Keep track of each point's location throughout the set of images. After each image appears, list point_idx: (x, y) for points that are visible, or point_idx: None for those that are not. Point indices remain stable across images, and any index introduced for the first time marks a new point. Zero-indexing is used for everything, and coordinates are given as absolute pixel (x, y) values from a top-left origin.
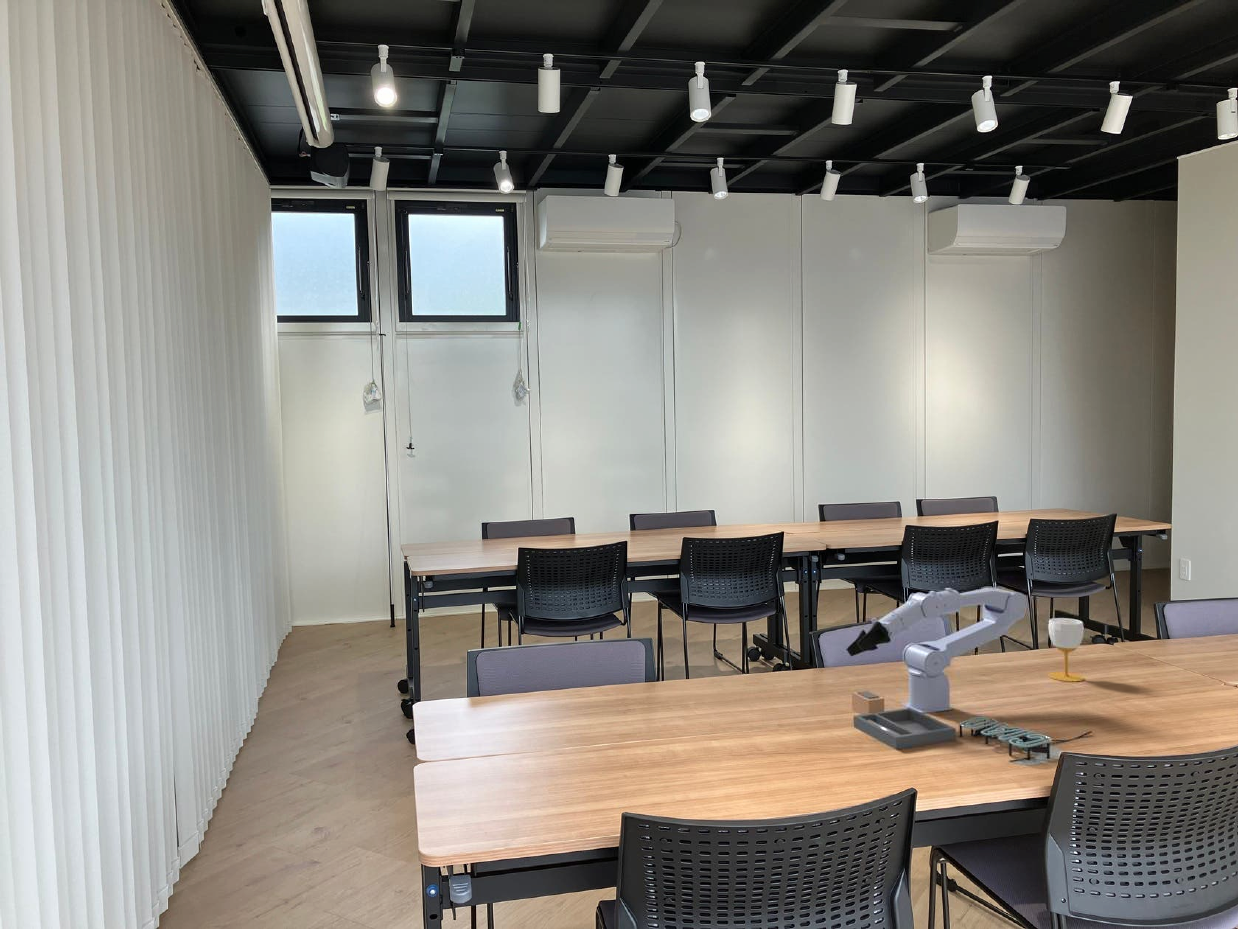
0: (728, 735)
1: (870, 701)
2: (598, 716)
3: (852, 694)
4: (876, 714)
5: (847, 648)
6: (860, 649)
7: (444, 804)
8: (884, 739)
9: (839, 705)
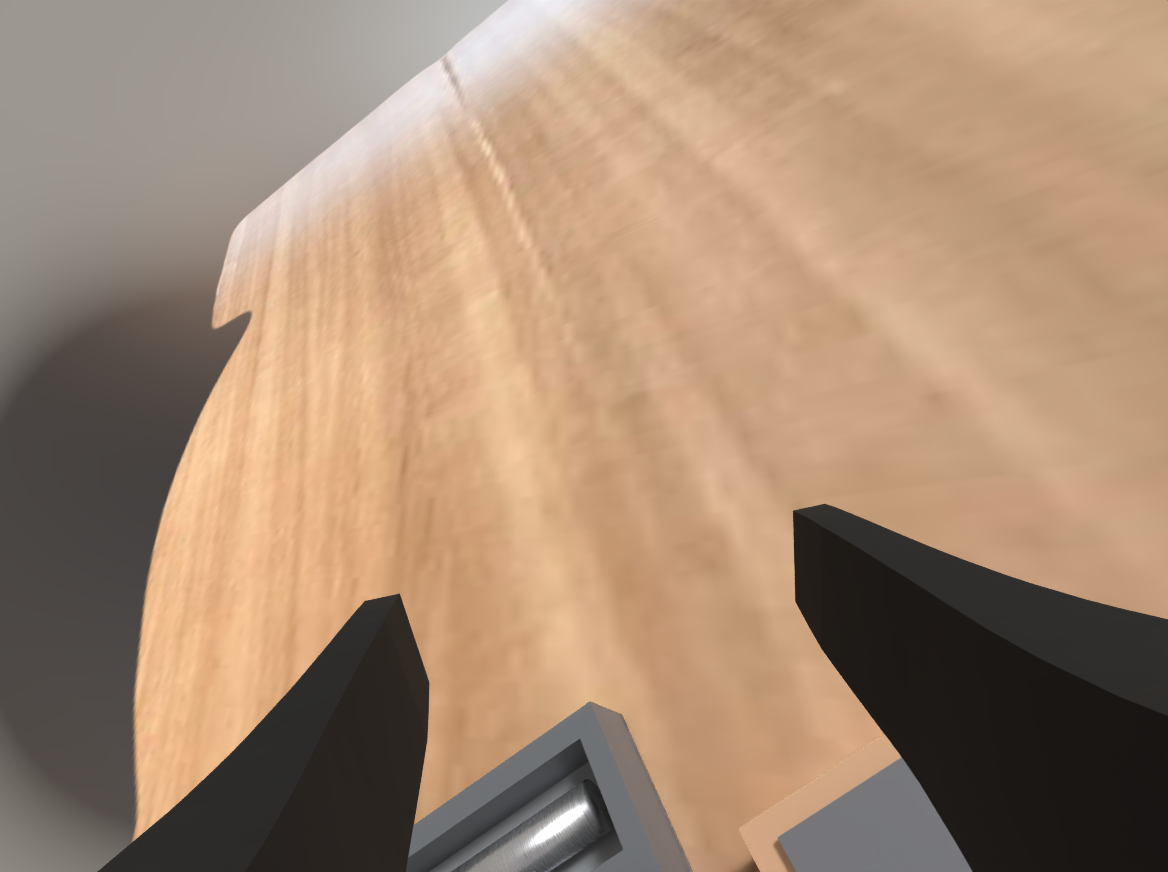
0: (533, 306)
1: (751, 847)
2: (648, 39)
3: None
4: (623, 867)
5: (793, 512)
6: (900, 715)
7: (326, 157)
8: None
9: None
